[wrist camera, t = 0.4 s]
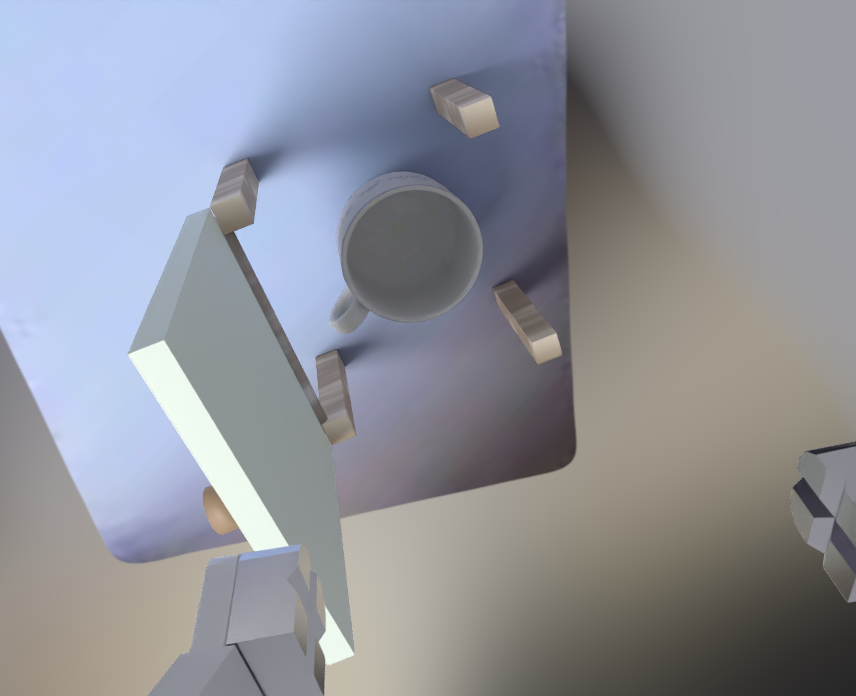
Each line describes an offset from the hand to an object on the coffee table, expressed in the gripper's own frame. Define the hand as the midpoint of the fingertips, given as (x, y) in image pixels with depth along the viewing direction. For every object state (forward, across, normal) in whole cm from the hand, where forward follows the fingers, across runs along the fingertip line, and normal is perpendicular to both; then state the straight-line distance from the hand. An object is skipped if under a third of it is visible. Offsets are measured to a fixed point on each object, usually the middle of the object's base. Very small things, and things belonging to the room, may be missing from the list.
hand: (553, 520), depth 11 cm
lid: (+24, +11, +16) cm, 30 cm away
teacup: (+46, +4, +17) cm, 49 cm away
